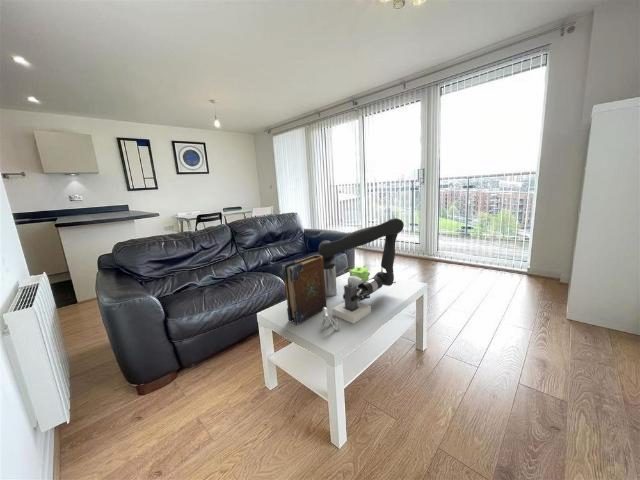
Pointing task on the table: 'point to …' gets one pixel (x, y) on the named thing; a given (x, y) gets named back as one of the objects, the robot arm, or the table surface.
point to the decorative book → (304, 288)
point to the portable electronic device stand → (326, 317)
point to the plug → (349, 292)
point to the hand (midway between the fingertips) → (347, 298)
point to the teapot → (360, 273)
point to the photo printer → (355, 280)
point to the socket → (350, 315)
